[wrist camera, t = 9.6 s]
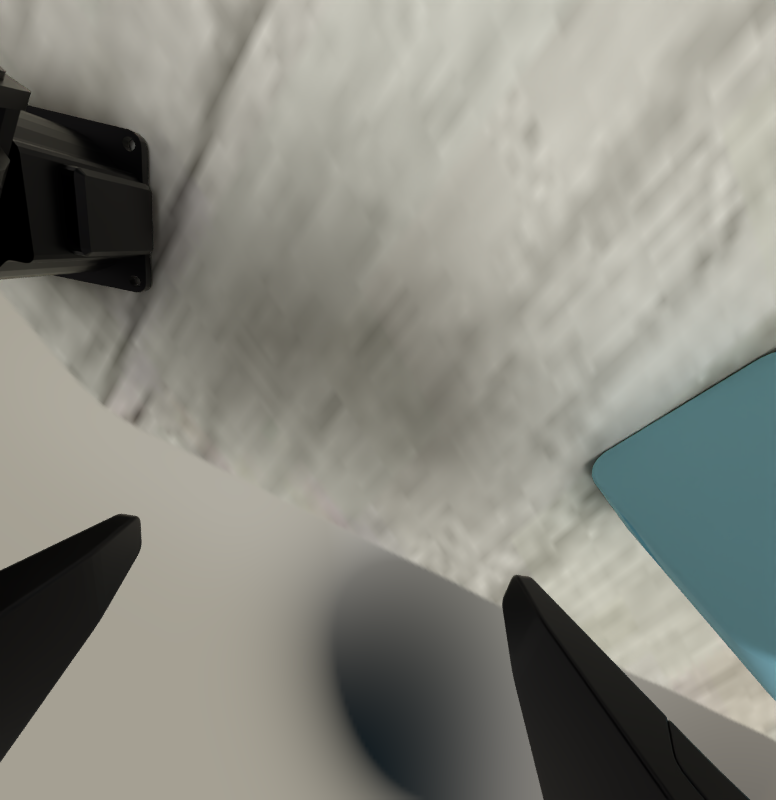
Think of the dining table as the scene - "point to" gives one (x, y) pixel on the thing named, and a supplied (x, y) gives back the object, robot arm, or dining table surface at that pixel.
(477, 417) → the dining table surface
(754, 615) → the light blue flat block
